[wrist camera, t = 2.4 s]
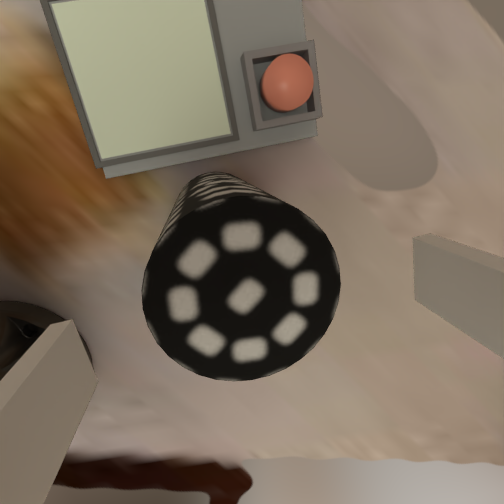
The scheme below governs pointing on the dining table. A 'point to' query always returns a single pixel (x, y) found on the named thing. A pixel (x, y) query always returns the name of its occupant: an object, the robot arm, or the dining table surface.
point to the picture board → (178, 77)
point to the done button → (286, 83)
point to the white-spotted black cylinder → (238, 281)
